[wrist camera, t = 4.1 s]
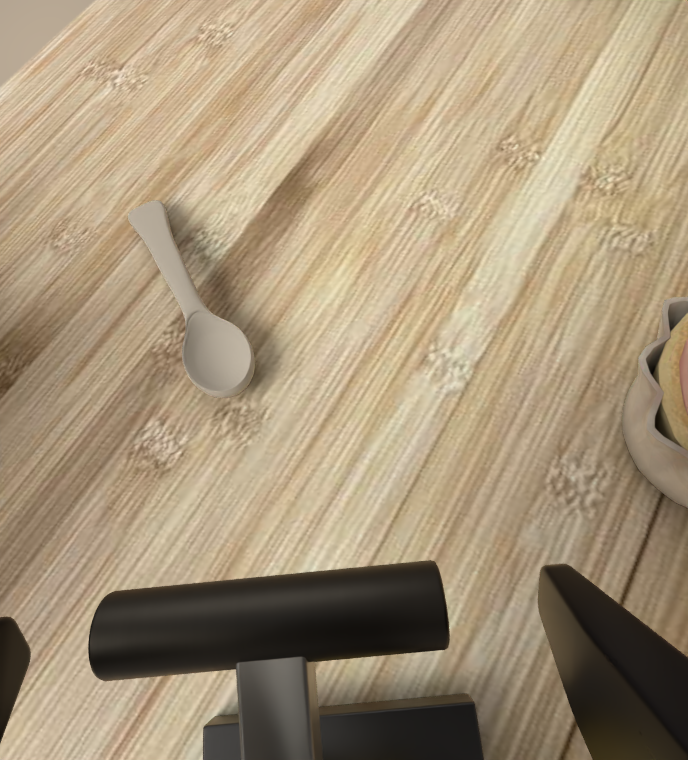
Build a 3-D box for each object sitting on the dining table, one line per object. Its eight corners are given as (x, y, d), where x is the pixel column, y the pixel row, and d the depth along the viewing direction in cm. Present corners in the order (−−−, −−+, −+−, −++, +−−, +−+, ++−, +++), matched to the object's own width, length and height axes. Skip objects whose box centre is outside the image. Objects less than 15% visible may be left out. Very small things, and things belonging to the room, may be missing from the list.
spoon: (212, 418, 21) (195, 401, 19) (128, 235, 26) (108, 208, 24) (273, 385, 21) (262, 366, 20) (179, 211, 26) (163, 182, 24)
